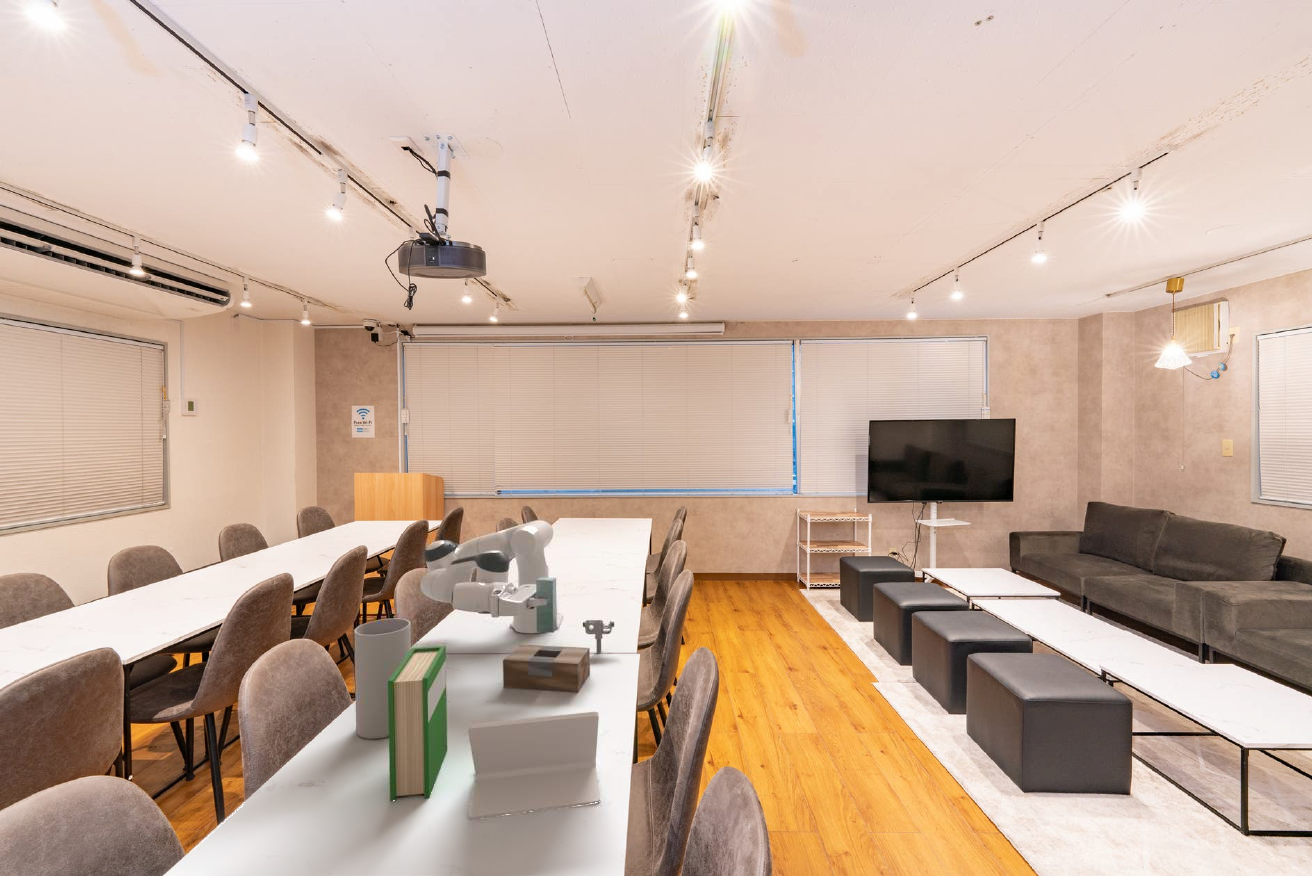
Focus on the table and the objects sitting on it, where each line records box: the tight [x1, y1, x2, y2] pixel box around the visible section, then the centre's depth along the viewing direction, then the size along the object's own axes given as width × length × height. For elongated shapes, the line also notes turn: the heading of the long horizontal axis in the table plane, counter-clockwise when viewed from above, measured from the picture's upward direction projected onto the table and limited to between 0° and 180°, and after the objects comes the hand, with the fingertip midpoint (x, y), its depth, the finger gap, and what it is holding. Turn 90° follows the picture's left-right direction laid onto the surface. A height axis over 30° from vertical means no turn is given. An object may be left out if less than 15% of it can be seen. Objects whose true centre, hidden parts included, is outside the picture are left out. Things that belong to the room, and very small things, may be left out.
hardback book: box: [388, 645, 448, 802], centre depth 124 cm, size 18×7×24 cm, turn 9°
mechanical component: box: [582, 619, 615, 654], centre depth 192 cm, size 3×10×10 cm, turn 89°
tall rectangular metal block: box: [536, 577, 558, 634], centre depth 169 cm, size 3×5×15 cm, turn 81°
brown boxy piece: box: [502, 644, 591, 693], centre depth 170 cm, size 12×22×8 cm, turn 81°
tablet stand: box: [467, 711, 602, 821], centre depth 120 cm, size 18×25×17 cm
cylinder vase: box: [353, 617, 412, 740], centre depth 144 cm, size 12×12×25 cm
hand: (549, 599), depth 169 cm, fingers closed on tall rectangular metal block, 3 cm apart
